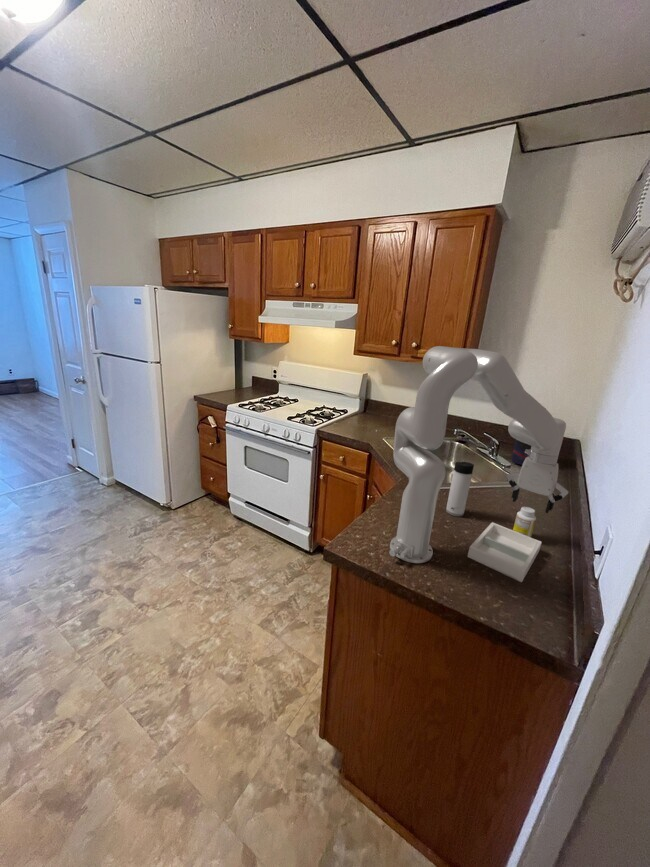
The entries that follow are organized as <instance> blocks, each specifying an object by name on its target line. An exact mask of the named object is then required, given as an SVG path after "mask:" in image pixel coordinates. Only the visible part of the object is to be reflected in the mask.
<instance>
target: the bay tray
mask: <svg viewBox="0 0 650 867" xmlns="http://www.w3.org/2000/svg"><path fill="white" fill-rule="evenodd" d="M541 546H542V541H541V540H538V539H535V538H533V537H532V536H531V537H528V536H526V535H523V534H521V533H518V532H516V531H513V529H510V528H508V527H505V526H503V525H500V524H498V523H495V522H493V521H492V522H491V523H489V525H488V526H487V527H486V528H485V529H484V531H482V533H481V534H480V535H479V536H478V537H477V538H476V539H475V540H474V541H473V542H472V544H471V545H470V546H469V547H468V548H469V549H468V553H467V558H469V559H471V560H473V561H475V562H477V563H479V564H482V565H483V566H485V567H488V568H490V569H492V570H494V571H497V572H499V573H500V574H503V575H504V576H507V577H509V578H512V579H513V580H515V581H518V582H520V583H523V581H524V580H525V577H526V576H527V574H528V573H529V571H530V568H531V566H532V565H533V563H534V562H535V560H536V558H537V556H538V554H539V552H540V549H541Z"/></svg>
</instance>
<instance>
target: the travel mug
mask: <svg viewBox="0 0 650 867" xmlns="http://www.w3.org/2000/svg"><path fill="white" fill-rule="evenodd" d="M474 467H475V465H474V463H472V462H469V461H456V462H455V463H454V467H453V472H452V477H451V478H452V479H451V483H450V487H449V492H448V496H447V497H448V499H447V504H446V509H445V511H446V513H447V514H449V515H451V516H454V517H463V516H464V514H465V511H466V505H467V501H468V495H469V491H470V487H471V482H472V478H473V473H474V472H473V471H474Z"/></svg>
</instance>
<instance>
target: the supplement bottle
mask: <svg viewBox="0 0 650 867" xmlns="http://www.w3.org/2000/svg"><path fill="white" fill-rule="evenodd" d="M535 513H536V510H535V509H534V508H532V507H531V506H526V505H525V506H521V508H520V510H519V511H518V512H517V513H516V516H515V519H514V524H513V528H512V530H513V531H516V532H518V533H521V534H523V535H526V536H528V537H531V538H532V534H533V531H534V527H535V525H536V524H535V523H536V521H537V517H536V516H535Z"/></svg>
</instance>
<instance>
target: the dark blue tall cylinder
mask: <svg viewBox="0 0 650 867" xmlns="http://www.w3.org/2000/svg"><path fill="white" fill-rule="evenodd" d="M544 408H545V409H547V408H546V407H544ZM513 445H514V446H513V449H512V450H513V451H512V454H511V458H510V460H511V461H512V464H513V463H515V464H516V465H520V466H522V465H523V462H524V460H525V458H526V457H528V456H529V455H528V454H527V453H525V450H526V449H527V450H528V449H529V450H530V449H531V445H528V444H526V443H523V442H521V441H519V440H516V439H515V442H514V444H513ZM515 464H514V465H515Z"/></svg>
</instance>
